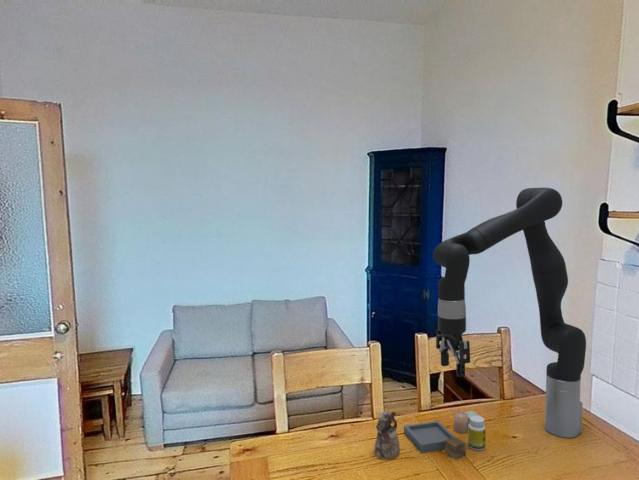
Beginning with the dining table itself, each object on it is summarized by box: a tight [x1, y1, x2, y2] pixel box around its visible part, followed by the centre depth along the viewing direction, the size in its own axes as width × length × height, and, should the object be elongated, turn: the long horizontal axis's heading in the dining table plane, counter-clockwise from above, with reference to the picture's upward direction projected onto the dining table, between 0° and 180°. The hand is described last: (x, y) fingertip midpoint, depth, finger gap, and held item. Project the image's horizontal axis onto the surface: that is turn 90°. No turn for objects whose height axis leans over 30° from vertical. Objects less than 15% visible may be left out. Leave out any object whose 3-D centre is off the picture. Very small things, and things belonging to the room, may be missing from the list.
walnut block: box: [444, 435, 467, 461], centre depth 131 cm, size 4×4×4 cm
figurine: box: [373, 410, 401, 461], centre depth 132 cm, size 7×7×12 cm
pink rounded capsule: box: [453, 411, 468, 434], centre depth 144 cm, size 4×4×5 cm
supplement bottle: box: [467, 415, 486, 452], centre depth 134 cm, size 5×5×8 cm
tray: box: [403, 420, 455, 454], centre depth 139 cm, size 12×12×2 cm
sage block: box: [463, 410, 482, 430], centre depth 146 cm, size 4×5×4 cm
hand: (452, 370), depth 131 cm, fingers open, 8 cm apart
